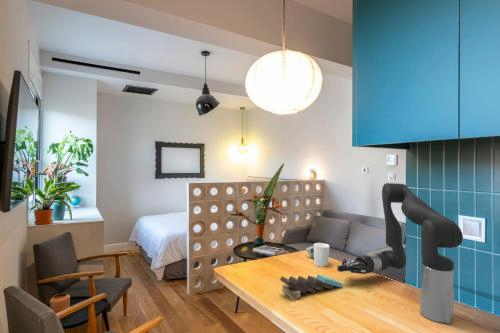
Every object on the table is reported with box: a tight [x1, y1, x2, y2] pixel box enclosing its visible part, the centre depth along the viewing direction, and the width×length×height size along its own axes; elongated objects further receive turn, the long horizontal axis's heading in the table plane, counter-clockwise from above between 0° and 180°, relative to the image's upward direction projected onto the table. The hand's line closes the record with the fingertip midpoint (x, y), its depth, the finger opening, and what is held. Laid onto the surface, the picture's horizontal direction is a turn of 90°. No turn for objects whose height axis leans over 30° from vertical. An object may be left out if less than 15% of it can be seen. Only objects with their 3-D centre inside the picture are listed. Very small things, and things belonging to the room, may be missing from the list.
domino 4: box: [306, 274, 335, 290], centre depth 122 cm, size 2×5×10 cm
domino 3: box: [297, 275, 325, 292], centre depth 120 cm, size 2×5×10 cm
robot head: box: [305, 245, 314, 259], centre depth 160 cm, size 8×4×7 cm, turn 72°
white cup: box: [313, 242, 331, 268], centre depth 151 cm, size 8×8×10 cm
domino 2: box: [288, 275, 316, 294], centre depth 118 cm, size 2×5×10 cm
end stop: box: [281, 283, 301, 301], centre depth 116 cm, size 3×8×2 cm, turn 26°
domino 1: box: [279, 275, 308, 295], centre depth 116 cm, size 2×5×10 cm
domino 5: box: [315, 274, 344, 288], centre depth 124 cm, size 2×5×10 cm
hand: (338, 268), depth 126 cm, fingers closed
